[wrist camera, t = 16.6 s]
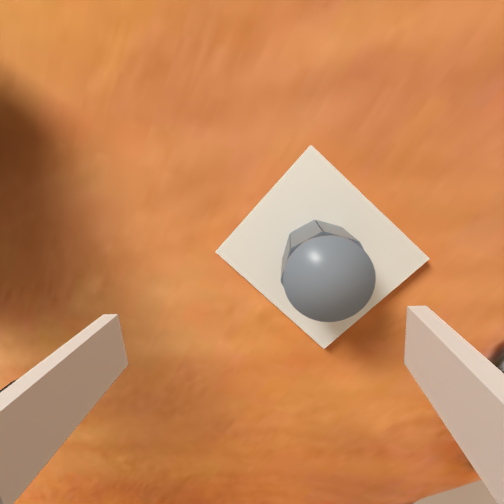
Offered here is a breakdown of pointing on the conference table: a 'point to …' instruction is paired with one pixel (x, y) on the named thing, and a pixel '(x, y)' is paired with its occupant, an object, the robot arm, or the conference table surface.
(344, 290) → the cap
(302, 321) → the stud board
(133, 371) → the conference table surface
